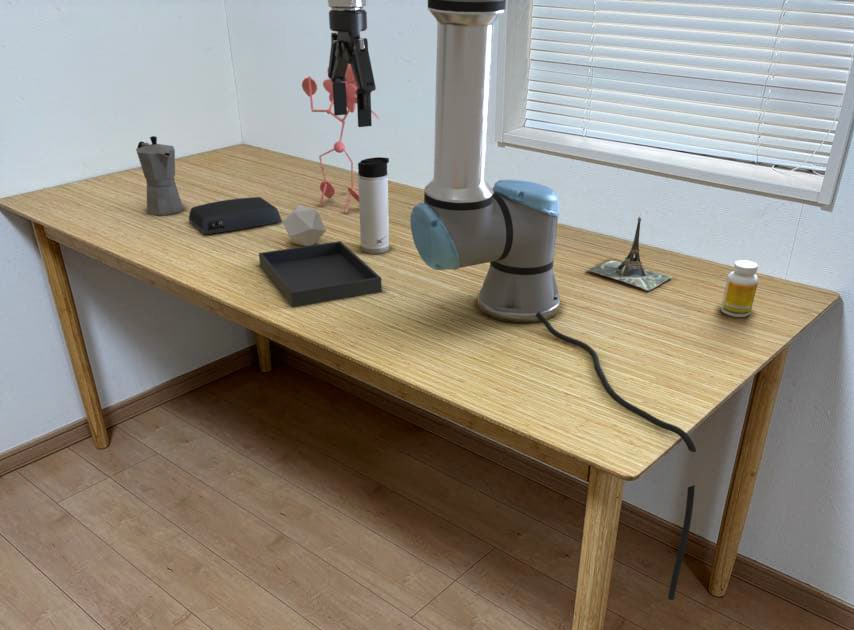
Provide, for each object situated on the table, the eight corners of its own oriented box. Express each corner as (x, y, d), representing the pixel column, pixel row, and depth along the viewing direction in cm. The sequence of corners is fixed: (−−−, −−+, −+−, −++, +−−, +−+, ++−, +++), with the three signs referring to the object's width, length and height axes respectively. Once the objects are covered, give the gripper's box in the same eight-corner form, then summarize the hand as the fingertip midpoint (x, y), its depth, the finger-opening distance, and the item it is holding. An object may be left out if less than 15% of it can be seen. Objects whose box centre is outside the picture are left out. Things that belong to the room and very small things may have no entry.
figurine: (367, 221, 194) (361, 67, 176) (295, 200, 209) (283, 55, 191) (408, 206, 205) (407, 59, 187) (337, 188, 219) (330, 49, 201)
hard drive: (187, 221, 193) (185, 204, 191) (263, 209, 202) (261, 193, 200) (204, 237, 184) (202, 219, 182) (283, 223, 192) (281, 207, 190)
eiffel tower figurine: (585, 272, 167) (592, 209, 160) (611, 260, 173) (619, 199, 166) (648, 292, 158) (659, 227, 151) (674, 278, 164) (685, 215, 157)
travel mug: (386, 255, 175) (384, 162, 164) (357, 253, 176) (353, 160, 165) (393, 245, 180) (392, 155, 170) (365, 243, 181) (362, 153, 171)
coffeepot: (195, 212, 200) (184, 137, 190) (160, 220, 194) (147, 144, 185) (165, 198, 209) (153, 127, 200) (131, 206, 204) (117, 133, 194)
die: (334, 245, 182) (322, 203, 182) (320, 237, 173) (308, 193, 174) (300, 257, 184) (289, 215, 184) (285, 250, 175) (273, 206, 175)
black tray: (381, 291, 157) (381, 277, 156) (292, 307, 151) (291, 292, 149) (341, 253, 175) (340, 240, 174) (260, 266, 169) (258, 252, 167)
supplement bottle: (716, 306, 153) (726, 258, 148) (744, 306, 152) (755, 258, 148) (725, 317, 148) (736, 269, 143) (754, 318, 148) (766, 269, 143)
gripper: (390, 12, 150) (392, 129, 161) (342, 3, 169) (347, 108, 180) (353, 14, 147) (358, 133, 158) (308, 5, 166) (315, 111, 177)
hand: (352, 120), depth 169 cm, fingers open, 13 cm apart
